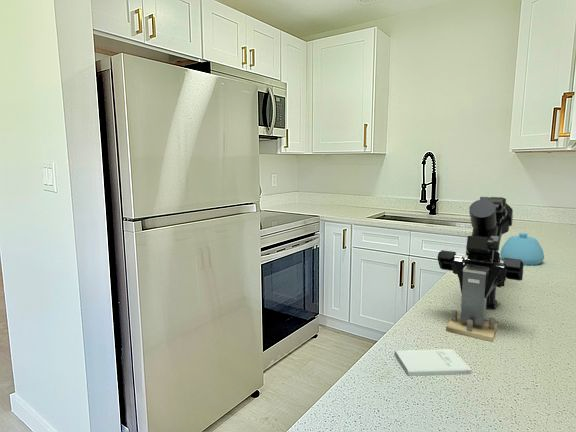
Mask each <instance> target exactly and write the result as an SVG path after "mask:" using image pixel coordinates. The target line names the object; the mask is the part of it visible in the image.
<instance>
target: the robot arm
mask: <svg viewBox="0 0 576 432" xmlns="http://www.w3.org/2000/svg"><path fill="white" fill-rule="evenodd" d="M469 217H470V218H469V219H470V222H471V227H472V233H471V235H467V238H466V247H465V256H466V257H464V256H461V255H457V252H456V251H452V250H451V251H450V250H443V249H442V250H440V251H439V252H438V254H437V262H438V266H439V269H441V270H443V271H444V270H445V271H451V272H452V274H454V275H457V277H458V280H459V281H458V282H459V286H460V287H459V288H460V292H461V293H460V294H462V283H463V268H464V267H465V266H466V264H470V265H478V266H485V267H489V270H488V282H487V286H486V290H485V298H487V301H486V309H492V310H495V309H496V308H497V306H498V300H496V294H497V288H502V287H505V284H506V283H505V282H506V280H512V281H513V280H514V281H519V282H520V281H523V277H524V265H523V261H522V260H521V259H512V258H504V260H503V262H501V255H500V252H499V250H500V244H501V240H502V237H503V235H504V234H506V233H508V232H509V231H510V227H512V226H513V220H514V219H513V217H514V214H513V208H512V207H511V206H510V205H509V204H508V203H507V198H505V197H501V196H499V197H497V196H490V197H489V196H480V198H479V199H478V200H475V201H473V202H472V203H471V204H470V205H469Z"/></svg>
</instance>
